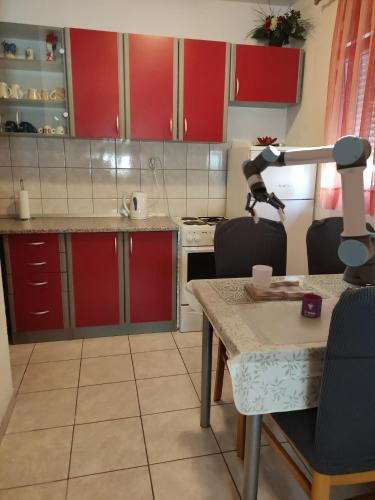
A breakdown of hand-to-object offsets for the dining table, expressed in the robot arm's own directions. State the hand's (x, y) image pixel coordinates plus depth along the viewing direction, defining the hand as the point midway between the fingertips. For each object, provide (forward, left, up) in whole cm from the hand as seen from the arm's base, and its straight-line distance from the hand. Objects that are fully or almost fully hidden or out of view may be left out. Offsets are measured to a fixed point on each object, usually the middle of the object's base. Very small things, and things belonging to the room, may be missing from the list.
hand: (270, 221), depth 167 cm
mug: (-3, +44, -27) cm, 51 cm away
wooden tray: (+2, +22, -27) cm, 34 cm away
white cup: (+9, +21, -26) cm, 35 cm away
